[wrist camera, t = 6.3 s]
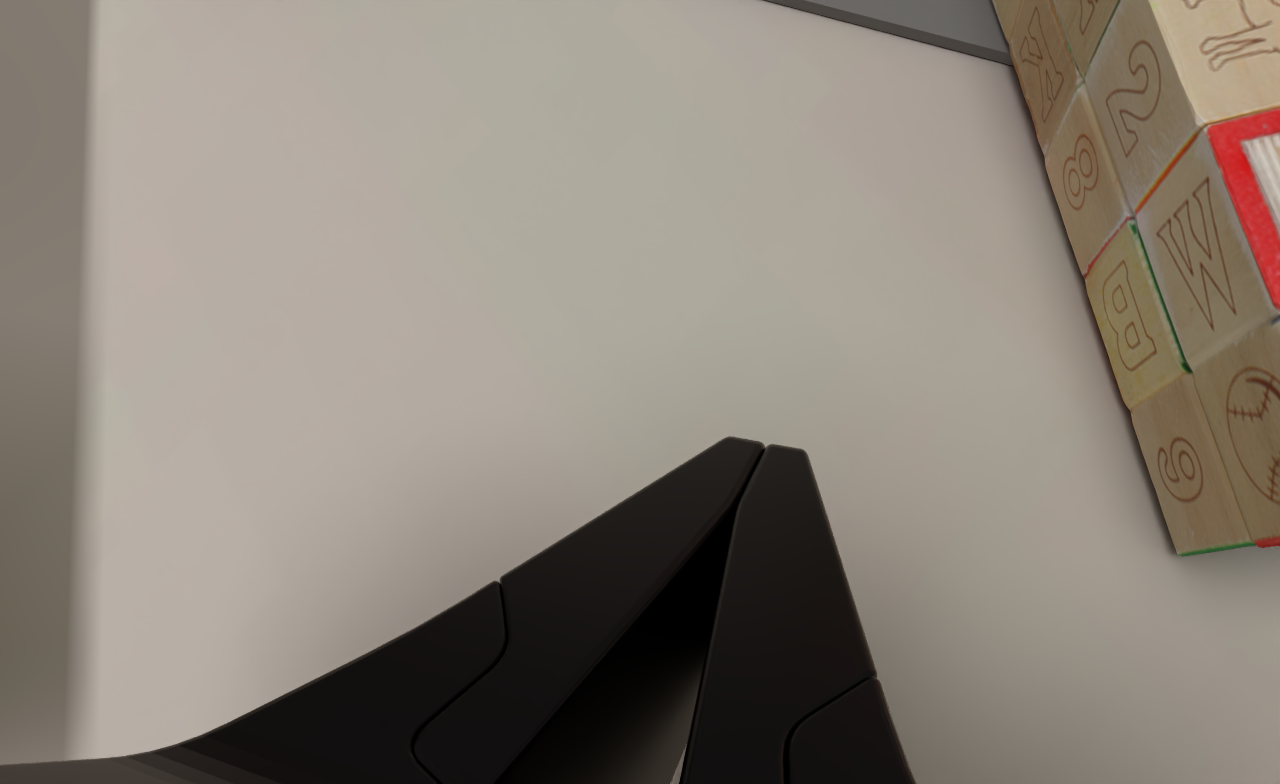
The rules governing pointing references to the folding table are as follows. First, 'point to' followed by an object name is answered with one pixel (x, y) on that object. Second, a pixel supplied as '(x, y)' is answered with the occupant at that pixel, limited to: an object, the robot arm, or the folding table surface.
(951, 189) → the folding table surface
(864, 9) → the mat
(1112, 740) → the folding table surface
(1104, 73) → the stack of blocks
